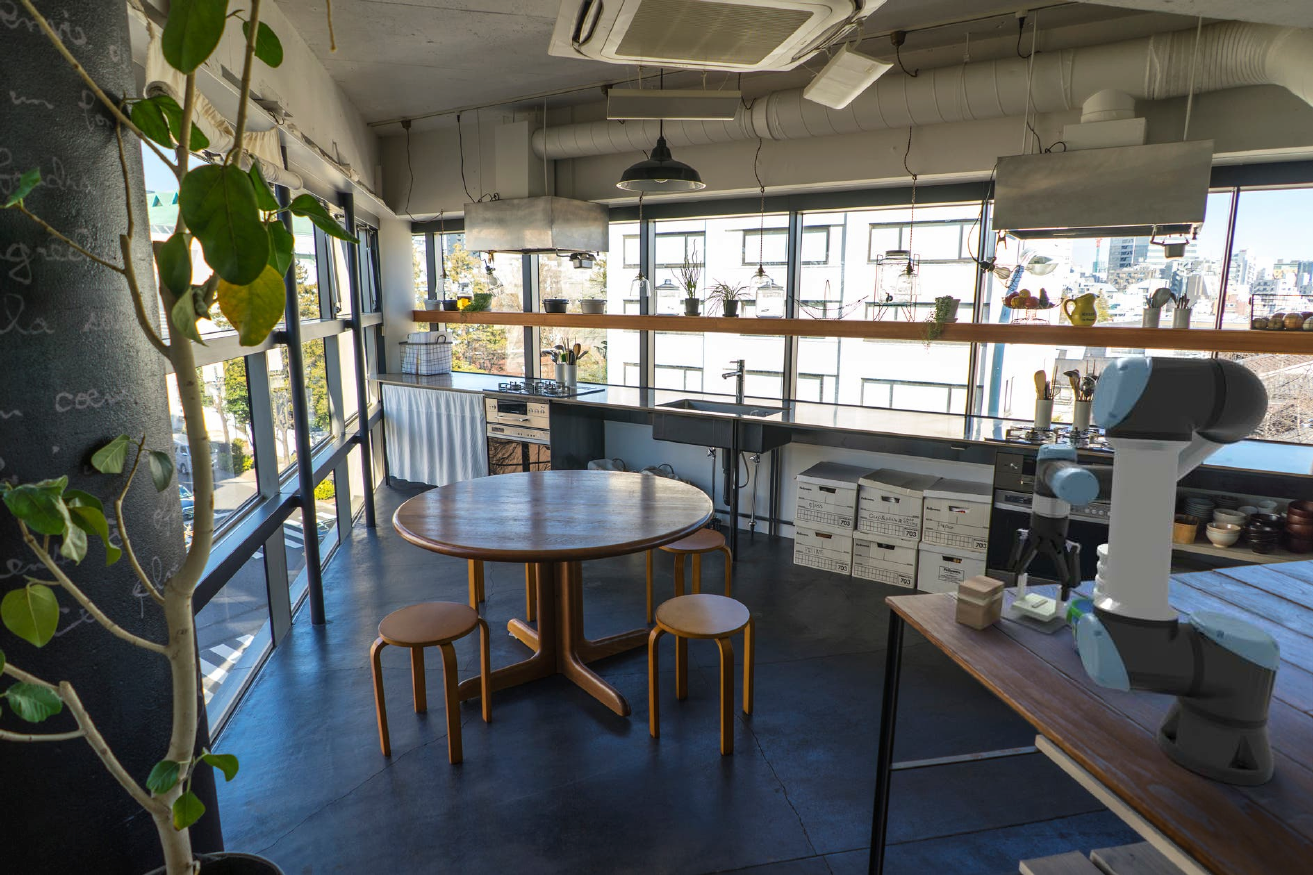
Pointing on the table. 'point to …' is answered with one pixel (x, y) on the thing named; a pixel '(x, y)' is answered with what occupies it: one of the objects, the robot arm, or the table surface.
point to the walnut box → (979, 601)
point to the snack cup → (1078, 616)
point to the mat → (1037, 621)
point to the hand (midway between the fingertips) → (1039, 606)
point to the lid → (1036, 607)
